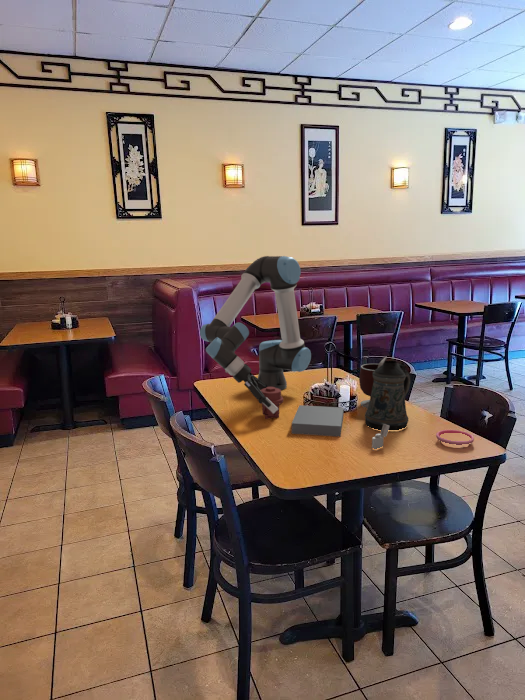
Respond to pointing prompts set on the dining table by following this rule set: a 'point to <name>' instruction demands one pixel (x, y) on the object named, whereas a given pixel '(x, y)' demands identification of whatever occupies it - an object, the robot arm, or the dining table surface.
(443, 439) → the pink torus ring
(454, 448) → the dining table surface
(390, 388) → the beer stein
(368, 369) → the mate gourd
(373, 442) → the lighter
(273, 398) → the mechanical component
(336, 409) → the plate
